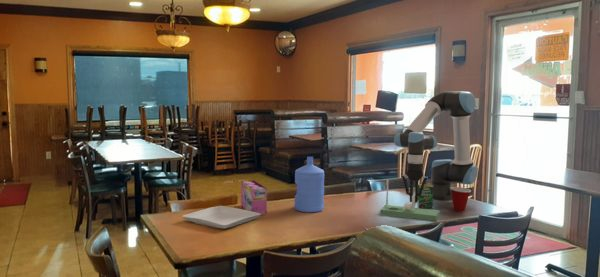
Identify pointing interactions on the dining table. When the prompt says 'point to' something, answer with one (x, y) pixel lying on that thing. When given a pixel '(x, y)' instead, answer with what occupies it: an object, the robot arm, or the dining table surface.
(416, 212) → the putting mat
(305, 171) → the water jug
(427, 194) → the coffee box
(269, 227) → the dining table surface
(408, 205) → the ball
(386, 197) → the flag pin
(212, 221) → the square plate
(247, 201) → the gum box
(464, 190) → the plastic cup
